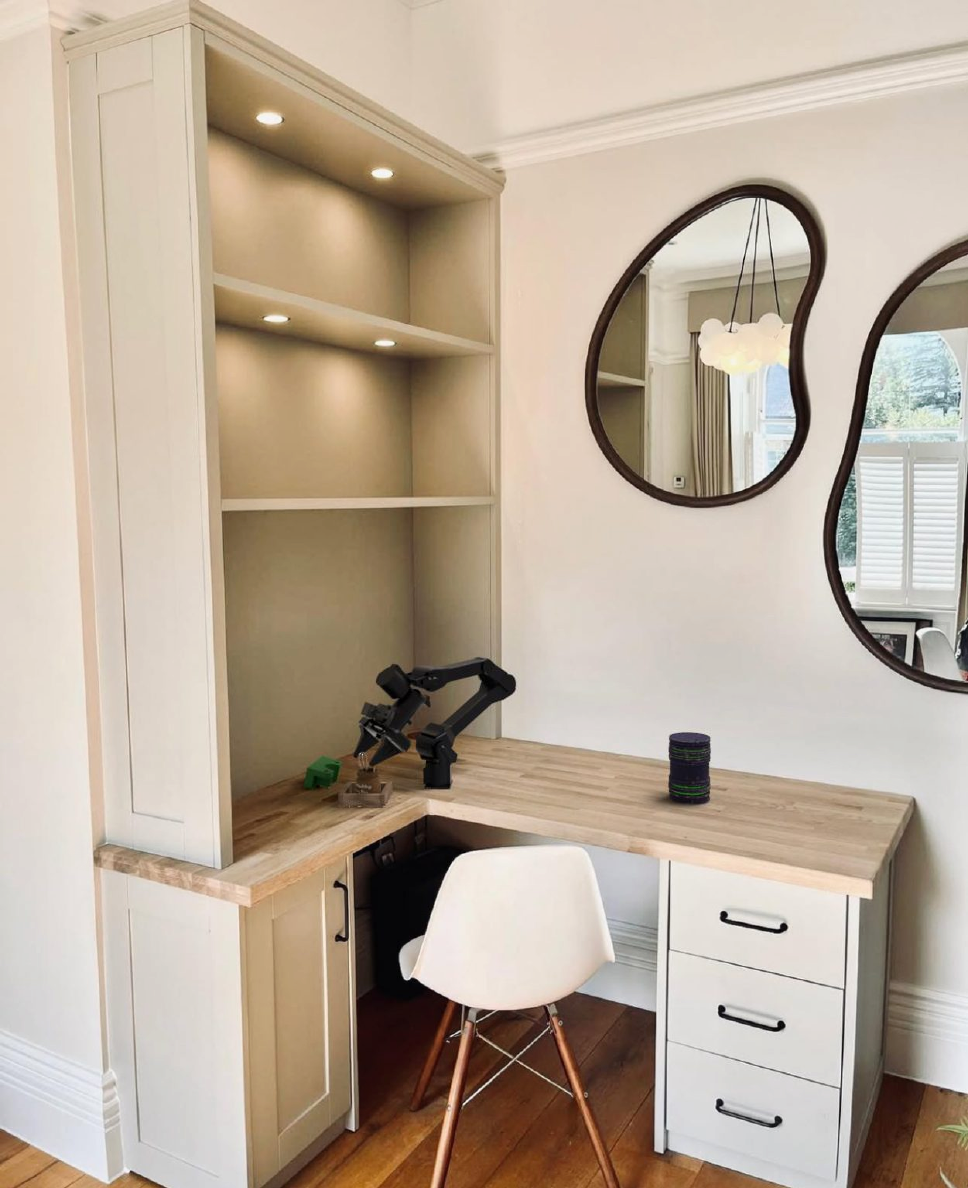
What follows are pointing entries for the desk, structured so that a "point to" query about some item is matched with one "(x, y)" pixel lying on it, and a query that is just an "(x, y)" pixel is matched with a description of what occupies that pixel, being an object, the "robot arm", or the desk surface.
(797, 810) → the desk surface
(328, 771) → the clamp
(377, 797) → the socket block
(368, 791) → the utensil holder
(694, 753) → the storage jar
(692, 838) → the desk surface
